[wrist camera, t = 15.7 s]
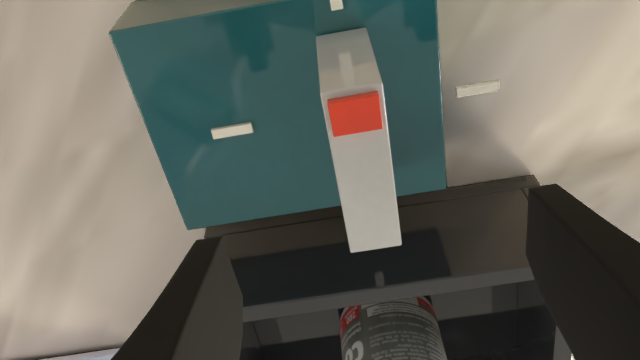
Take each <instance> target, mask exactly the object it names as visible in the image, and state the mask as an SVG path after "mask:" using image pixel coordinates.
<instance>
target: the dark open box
mask: <svg viewBox="0 0 640 360" xmlns="http://www.w3.org/2000/svg"><path fill="white" fill-rule="evenodd" d="M538 186H540V184H539V182H538V181H537V179H536V178H535V176H534V175H529V176H523V177H516V178H510V179H504V180H497V181H491V182H485V183H479V184H472V185H466V186H460V187H453V188H447V189H443V190H437V191H431V192H425V193H418V194H412V195H406V196H399V197H397V205H398V214H399V222H400V231H401V239H402V245H400V246H394V247H387V248H381V249H374V250H367V251H361V252H354V253H351V252H350V249H349V243H348V238H347V233H346V228H345V223H344V217H343V212H342V207H341V206H336V207H330V208H324V209H318V210H311V211H305V212H299V213H292V214H286V215H280V216H274V217H267V218H261V219H255V220H248V221H242V222H236V223H230V224H223V225H217V226H211V227H206V231H205V236H204V239H208V238H214V237H222V240H223V242H224V245H225V248H226V251H227V254H228V256H229V259H230V262H231V265H232V268H233V270H234V273H235V276H236V279H237V282H238V284H239V287H240V290H241V293H242V295H243V334H242V343H241V351H240V358H239V360H342V351H341V339H340V318H341V315H342V312H343V310H344V309H345V307H352V306H359V305H366V304H373V303H379V302H386V301H393V300H400V299H407V298H413V297H420V296H424V297H425V298H426V299H427V300H428V301H429V302H430V304H431V306H432V307H433V309H434V312H435V315H436V319H437V322H438V327H439V330H440V334H441V338H442V342H443V346H444V350H445V353H446V357H447V360H572V353H571V351H570V349H569V347H568V345H567V343H566V341H565V339H564V338H563V336H562V334H561V332H560V330H559V328H558V326H557V324H556V323H555V321H554V319H553V317H552V315H551V313H550V311H549V309H548V307H547V305H546V303H545V302H544V300H543V298H542V296H541V294H540V292H539V289H538V286H537V284H536V281H535V279H534V276H533V273H532V270H531V268H530V265H529V262H528V259H527V256H526V236H527V215H528V193H529V188H532V187H538Z"/></svg>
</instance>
